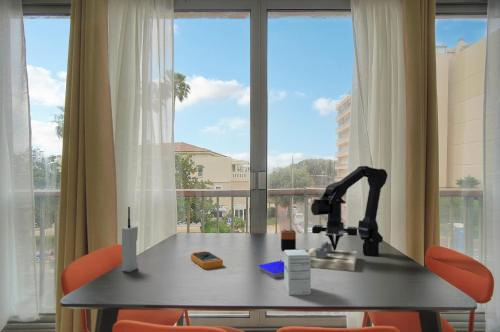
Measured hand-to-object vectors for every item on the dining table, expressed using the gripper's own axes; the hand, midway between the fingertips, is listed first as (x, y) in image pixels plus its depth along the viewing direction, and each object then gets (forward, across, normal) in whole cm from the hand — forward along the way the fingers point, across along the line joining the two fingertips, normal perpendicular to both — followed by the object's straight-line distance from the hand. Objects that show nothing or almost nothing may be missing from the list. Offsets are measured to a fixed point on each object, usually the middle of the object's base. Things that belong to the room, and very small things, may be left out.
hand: (334, 250), depth 150 cm
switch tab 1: (+1, -4, -10) cm, 11 cm away
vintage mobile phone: (+4, -74, -42) cm, 85 cm away
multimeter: (+5, -51, -23) cm, 56 cm away
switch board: (+4, -1, -5) cm, 7 cm away
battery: (+4, -23, +10) cm, 26 cm away
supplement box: (+4, -7, -43) cm, 44 cm away
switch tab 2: (+1, -3, 0) cm, 4 cm away
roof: (+5, -18, -26) cm, 32 cm away
